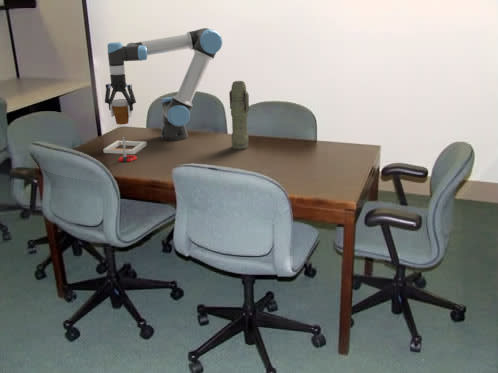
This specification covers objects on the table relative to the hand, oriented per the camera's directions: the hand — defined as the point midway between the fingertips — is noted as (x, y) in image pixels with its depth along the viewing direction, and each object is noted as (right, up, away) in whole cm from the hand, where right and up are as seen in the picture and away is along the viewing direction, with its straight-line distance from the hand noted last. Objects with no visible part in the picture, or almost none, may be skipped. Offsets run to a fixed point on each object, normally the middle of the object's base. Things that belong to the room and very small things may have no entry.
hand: (121, 116), depth 292 cm
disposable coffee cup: (0, -4, +1) cm, 4 cm away
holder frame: (+1, -17, +5) cm, 18 cm away
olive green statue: (+62, -16, +5) cm, 64 cm away
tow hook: (+6, -23, -12) cm, 27 cm away
